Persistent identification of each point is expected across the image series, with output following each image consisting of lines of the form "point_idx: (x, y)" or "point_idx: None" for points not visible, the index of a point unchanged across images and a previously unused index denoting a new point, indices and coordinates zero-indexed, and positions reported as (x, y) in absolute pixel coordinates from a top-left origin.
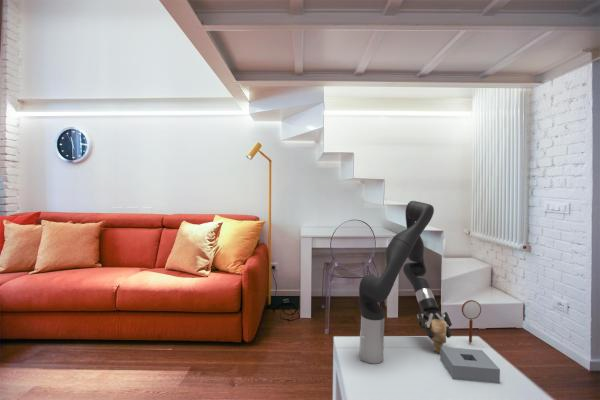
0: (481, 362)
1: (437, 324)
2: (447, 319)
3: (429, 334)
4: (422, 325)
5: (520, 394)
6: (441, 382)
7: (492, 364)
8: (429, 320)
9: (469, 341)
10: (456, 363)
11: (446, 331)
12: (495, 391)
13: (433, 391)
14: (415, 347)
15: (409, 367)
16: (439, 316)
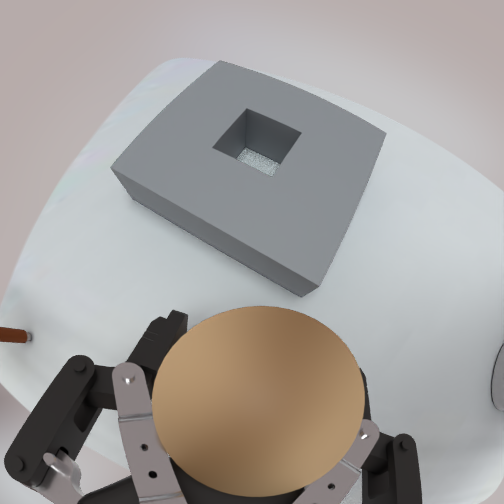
0: (240, 97)
1: (349, 352)
2: (65, 415)
3: (363, 376)
4: (414, 442)
5: None
6: (411, 171)
7: (210, 80)
8: (341, 481)
9: (25, 337)
10: (363, 133)
11: None
12: None
13: (448, 159)
14: None
15: (460, 284)
16: (149, 493)
